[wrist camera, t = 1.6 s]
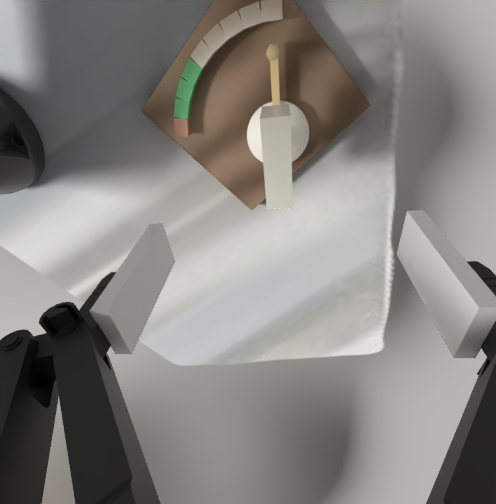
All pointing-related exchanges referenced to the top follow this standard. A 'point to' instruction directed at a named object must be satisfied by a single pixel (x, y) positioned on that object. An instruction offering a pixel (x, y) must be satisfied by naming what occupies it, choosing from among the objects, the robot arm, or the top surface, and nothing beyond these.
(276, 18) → the wooden base board
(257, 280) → the top surface
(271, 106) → the peg
